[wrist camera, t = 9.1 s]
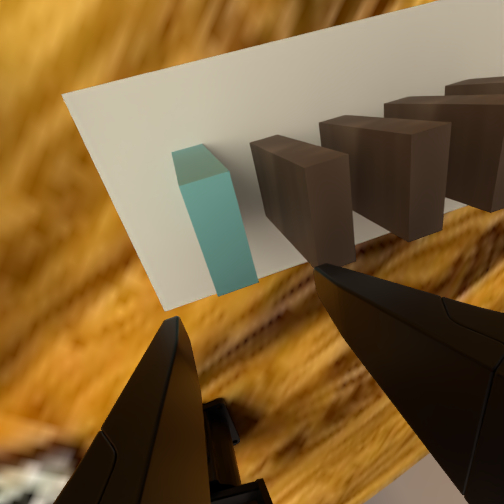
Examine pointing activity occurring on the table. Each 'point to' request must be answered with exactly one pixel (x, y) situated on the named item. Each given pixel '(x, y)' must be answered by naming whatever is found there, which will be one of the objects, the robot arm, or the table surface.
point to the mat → (266, 122)
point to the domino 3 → (394, 170)
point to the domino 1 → (215, 218)
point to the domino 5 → (476, 87)
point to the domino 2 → (307, 197)
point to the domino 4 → (465, 143)
